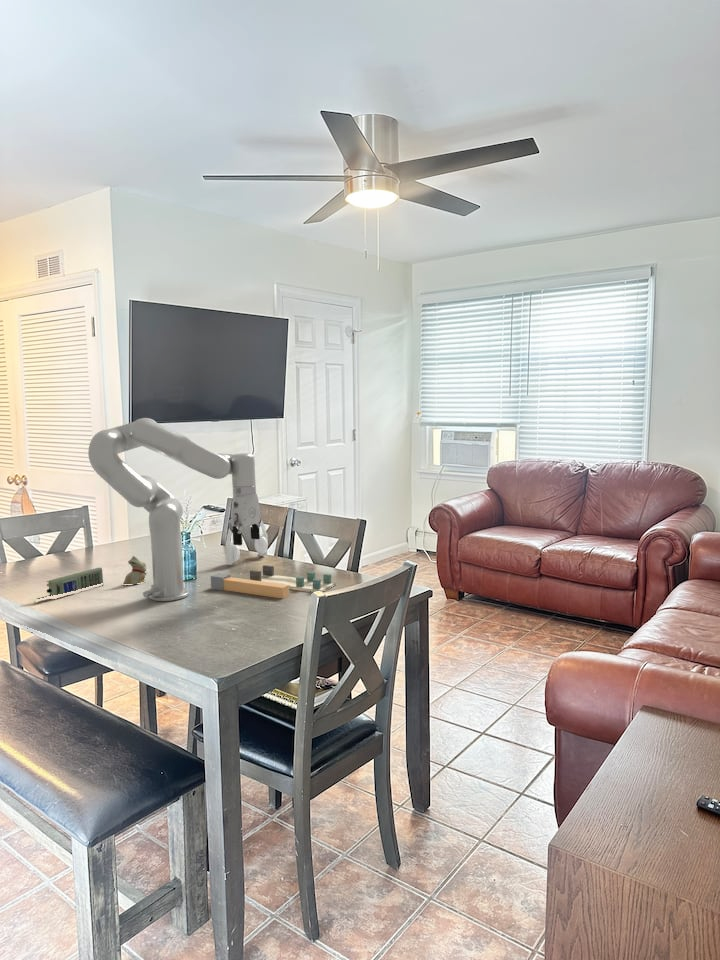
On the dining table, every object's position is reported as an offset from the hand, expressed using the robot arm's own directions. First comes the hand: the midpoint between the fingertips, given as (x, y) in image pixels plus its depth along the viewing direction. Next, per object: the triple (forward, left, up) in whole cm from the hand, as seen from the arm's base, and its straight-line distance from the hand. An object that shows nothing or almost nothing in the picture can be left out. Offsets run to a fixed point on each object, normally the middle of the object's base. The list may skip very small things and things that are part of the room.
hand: (246, 541), depth 219 cm
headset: (+35, +26, -17) cm, 47 cm away
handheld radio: (-27, +53, -17) cm, 62 cm away
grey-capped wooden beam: (0, -1, -17) cm, 17 cm away
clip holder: (+13, -9, -17) cm, 23 cm away
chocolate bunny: (-8, +43, -17) cm, 47 cm away
